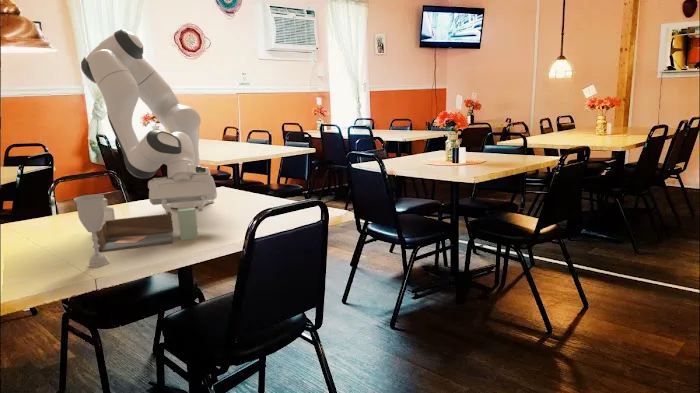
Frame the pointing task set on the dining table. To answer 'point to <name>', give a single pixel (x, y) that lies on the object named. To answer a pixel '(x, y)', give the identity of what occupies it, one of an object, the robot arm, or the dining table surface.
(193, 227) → the sage block
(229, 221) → the dining table surface
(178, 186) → the robot arm
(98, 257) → the chalice
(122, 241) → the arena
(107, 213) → the eye dropper bottle
